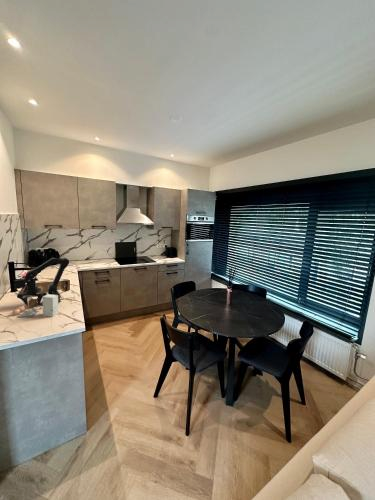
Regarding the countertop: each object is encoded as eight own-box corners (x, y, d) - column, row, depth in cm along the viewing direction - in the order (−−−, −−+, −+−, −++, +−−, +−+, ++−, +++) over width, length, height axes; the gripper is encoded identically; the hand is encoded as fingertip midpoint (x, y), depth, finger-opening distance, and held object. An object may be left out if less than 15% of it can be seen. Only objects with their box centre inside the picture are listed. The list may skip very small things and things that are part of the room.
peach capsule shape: (21, 313, 155) (21, 308, 155) (17, 315, 151) (17, 310, 151) (15, 313, 155) (15, 308, 154) (11, 316, 151) (11, 310, 150)
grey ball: (38, 309, 162) (37, 306, 161) (35, 311, 159) (35, 307, 158) (33, 310, 161) (33, 306, 161) (31, 311, 158) (31, 308, 158)
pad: (38, 311, 159) (38, 310, 158) (30, 317, 150) (30, 316, 150) (25, 312, 157) (25, 311, 157) (17, 317, 149) (17, 316, 149)
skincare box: (42, 316, 152) (41, 296, 150) (48, 312, 158) (47, 293, 156) (53, 317, 151) (52, 297, 149) (59, 313, 157) (58, 294, 155)
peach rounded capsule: (25, 310, 160) (25, 305, 160) (22, 312, 156) (22, 307, 156) (20, 310, 160) (19, 305, 159) (16, 313, 156) (16, 307, 155)
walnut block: (37, 305, 169) (36, 298, 168) (34, 308, 165) (33, 300, 164) (32, 306, 169) (31, 298, 168) (28, 308, 165) (28, 300, 164)
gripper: (49, 283, 173) (50, 301, 176) (25, 283, 171) (26, 301, 173) (41, 287, 162) (43, 306, 165) (15, 288, 160) (17, 307, 163)
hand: (33, 305), depth 167 cm, fingers open, 8 cm apart
